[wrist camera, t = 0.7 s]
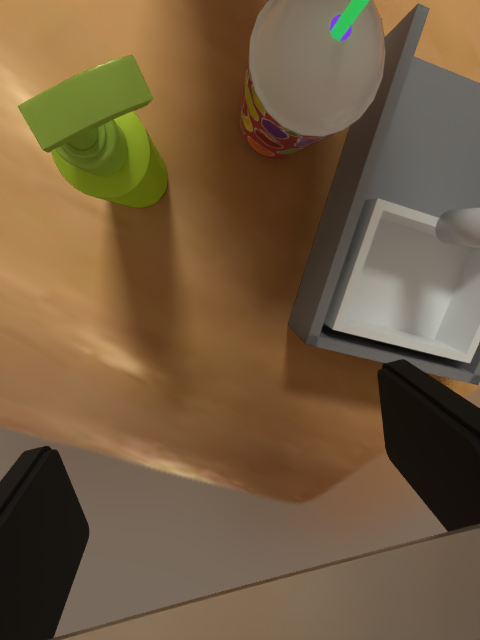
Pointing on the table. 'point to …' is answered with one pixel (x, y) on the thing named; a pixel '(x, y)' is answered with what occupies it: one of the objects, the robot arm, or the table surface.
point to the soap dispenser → (101, 133)
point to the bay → (396, 184)
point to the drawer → (412, 280)
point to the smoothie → (309, 72)
